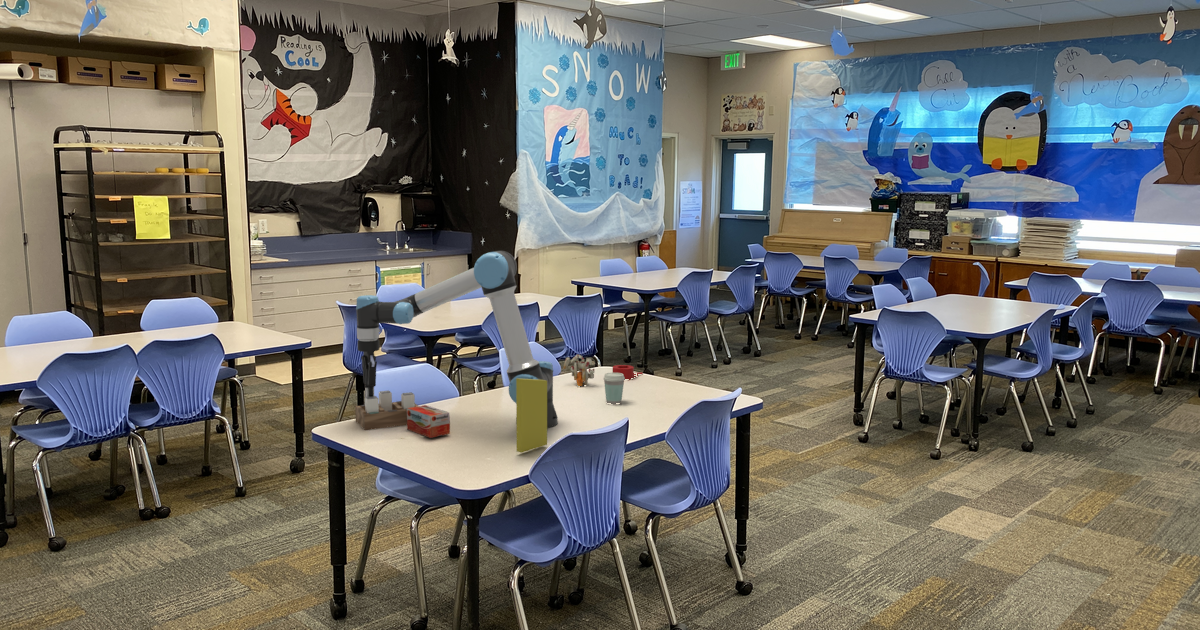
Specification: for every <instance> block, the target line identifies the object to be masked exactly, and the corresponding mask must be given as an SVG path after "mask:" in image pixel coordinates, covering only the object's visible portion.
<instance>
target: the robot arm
mask: <svg viewBox="0 0 1200 630" xmlns="http://www.w3.org/2000/svg"><path fill="white" fill-rule="evenodd" d="M514 257H515V256H513V255H512V254H511V253H509V252H508V251H505V250H495V251H490V252H487V253H484V254H482V255H481V256H480V257H479V258H477V260H476V261H475V263H474V267H472V268H470V269H468V270H466V271H462V272H461V273H458V274H456V275H455V276H452V277H450V278H448V279H445V280H443V281H440V282H438V283H437V284H434V285H432V286H430V287H429V286H428V287H427V288H425V289H423V290H421V291H417V292H416V293H413V294H411V295H408V296H407V297H405V298H403V299H402V298H401V299H399V300H395V301H380V300H379V296H377V295H371V294H368V295H367V294H366V295H365V294H364V295H360V296H358V297H356V304H355V305H356V308H355V311H356V338H357V339H358V340H357V351H358V352H361V353H363V354H362V355H361V357H360V358H361V365H362V376H363V377H362V379H363V384H364V388H365V390H364V391H365V398H366V397H371V396H375V387H376V385H377V384H376V381H377V365H378V362H377V359H376V357H377V356H376V355H375V352H377V351H380V339H379V338H380V332H381V329H380V324H394V325H396V324H399V325H405V324H406V325H407V324H411V323H412V320H413V319H414V318H416V317H417V316H420V315H421V314H423V313H425V312H428V311H431V310H433V309H434V308H437V307H439V306H442V305H444V304H446V303H448V302H451V301H454V300H456V299H458V298H460V297H463V296H465V295H468V294H469V293H471V292H474V291H477V290H479V289H481V290H482V293H483V296H484V297H485V298H488V300H489V301H490V305H491V307H492V312H493V315H494V319H495V321H496V325H497V328H498V332H499V336H500V338H501V343H502V345H503V349H504V352H505V355H506V358H507V359H506V360H507V363H508V367H507V369H506V374H507V375H506V376H507V378H508V382H509V384H508V394H509V396H510V399H511V400H512V402H513V403H514V404H516V378H519V379H537V380H546V381H547V429H548V428H552V427H556V426H558V422H559V421H558V419H559V418H558V414H557V411H556V408H555V406H554V367H553V362H550V361H542V360H536V359H535V358H534V357H533V354H532V350H531V347H530V344H529V340H528V336H527V333H526V329H525V325H524V322H523V319H522V315H521V313H520V312H521V311H520V308H519V305H518V302H517V298H516V295H515V290H516V288H517V287H518V286H517V282H516V279H515V276H516V274H517V270H518V268H517V265H518V264H517V261H516V259H515V258H514ZM515 425H516V426H517V422H516V421H515Z"/></svg>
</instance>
